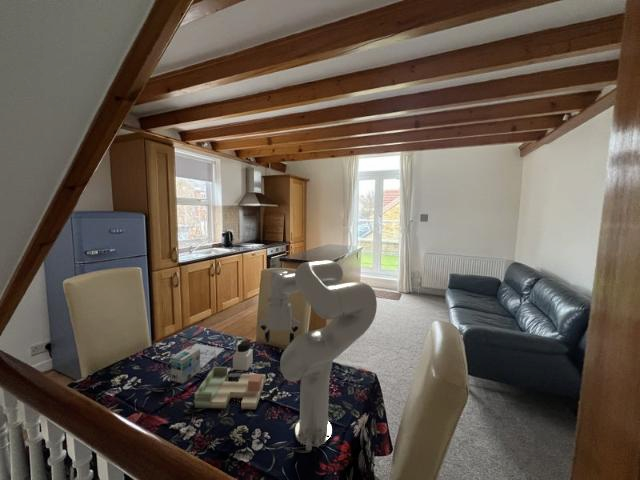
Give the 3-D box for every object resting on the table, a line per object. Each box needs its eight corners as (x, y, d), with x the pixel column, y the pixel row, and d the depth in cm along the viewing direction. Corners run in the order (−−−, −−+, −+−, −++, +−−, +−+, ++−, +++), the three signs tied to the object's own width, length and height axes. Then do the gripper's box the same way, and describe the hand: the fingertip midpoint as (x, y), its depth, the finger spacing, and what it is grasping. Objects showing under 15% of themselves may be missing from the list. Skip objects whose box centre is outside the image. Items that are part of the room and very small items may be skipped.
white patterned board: (167, 364, 128) (167, 360, 128) (196, 345, 148) (196, 341, 148) (201, 370, 124) (201, 366, 124) (226, 350, 143) (226, 346, 143)
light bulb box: (182, 384, 113) (182, 360, 112) (170, 380, 115) (169, 357, 114) (201, 370, 123) (200, 348, 122) (189, 367, 125) (189, 345, 124)
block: (259, 391, 106) (259, 381, 106) (248, 390, 106) (248, 381, 106) (261, 384, 111) (261, 374, 110) (251, 383, 111) (251, 374, 110)
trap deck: (255, 409, 100) (255, 395, 99) (194, 407, 100) (194, 393, 99) (265, 379, 118) (265, 367, 117) (213, 378, 118) (213, 366, 117)
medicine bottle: (252, 362, 131) (252, 339, 130) (247, 371, 124) (247, 346, 123) (238, 361, 132) (238, 338, 130) (232, 369, 124) (232, 345, 123)
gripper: (256, 303, 105) (256, 344, 106) (300, 304, 104) (299, 346, 106) (261, 297, 112) (261, 336, 114) (302, 298, 112) (301, 337, 113)
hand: (279, 341), depth 110 cm, fingers open, 9 cm apart
